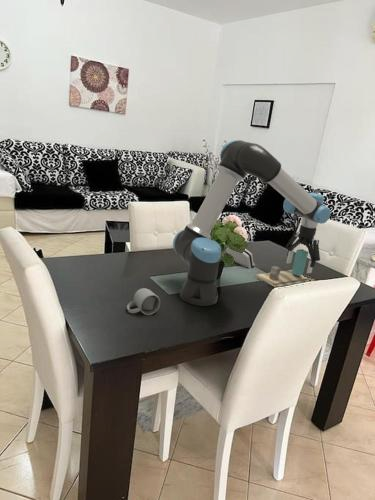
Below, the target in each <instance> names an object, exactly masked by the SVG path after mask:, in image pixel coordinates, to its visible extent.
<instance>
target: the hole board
mask: <svg viewBox="0 0 375 500" xmlns="http://www.w3.org/2000/svg"><path fill="white" fill-rule="evenodd" d="M291 272H292V269H288V270H287V269H286V270H282V269H281V267H279V266H277V265H274V266H271V269H270V272H265V273H264V272H263V273H257V274H254V275H253V277H254V276H255V277H257V278H259V279H261V280H263V281H265V282H267V283H268V284H270V285H272V286H274V287H276V286H277V287H281V286H287V285H292V284H297V283H302V282H304V281H305V282H309V280H311V281H315V282H316V279H315V278H312V277H310V278H307V277H304V276H303V275H298V276H297V275H295V274H293V273H291ZM255 277H254V278H255ZM311 278H312V279H311Z"/></svg>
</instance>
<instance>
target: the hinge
mask: <svg viewBox="0 0 375 500" xmlns="http://www.w3.org/2000/svg"><path fill="white" fill-rule="evenodd" d="M226 248H227V247H226ZM226 248H225V251H226V252H227V253H229V254H231V255H232V256H233V257H234V261H235V262H234V261H233V262H234V263H237V264H238V265H241V266H243V267H245V268H247V267H248V268H247V269H252V267H253V266H254V268H255V267H256V263H254V257H253V253H252V252H251V251H249V250H248V249H246V248H245V250H244V252H243V253H239V252H236V251H233V250H231V249H229V248H227V249H226ZM226 252H225V253H226Z"/></svg>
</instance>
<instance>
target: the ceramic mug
mask: <svg viewBox="0 0 375 500" xmlns="http://www.w3.org/2000/svg"><path fill="white" fill-rule="evenodd" d="M134 305H136V308H133V309H131V307H132V306H134ZM160 306H161V299H160V297H159V296H158V295H157V294H155V292H153V291H152V290H150V289H148V288H146V287H145V288H144V287H143V288H139V289H137V291H135V292H134V295H133V300H132V301H130V302H129V303H128V304H127V306H126V309H127V312H128V313H130V314H136V313H138V312H141V313H142V314H144V315H146V316H149V315H150V316H151V315H153V314H155V313H156V312H157V311H158V310H159V308H160Z"/></svg>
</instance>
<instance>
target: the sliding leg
mask: <svg viewBox="0 0 375 500" xmlns="http://www.w3.org/2000/svg"><path fill="white" fill-rule="evenodd" d="M308 255H309V251H307V250H306V249H296V251H295V256H294V260H293V264H292V268H291V270H292V272H291V273H293V274H295V275H297V276H298V275H303V274H304V272H305V267H306V263H307V261H308V260H307V259H308Z"/></svg>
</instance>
